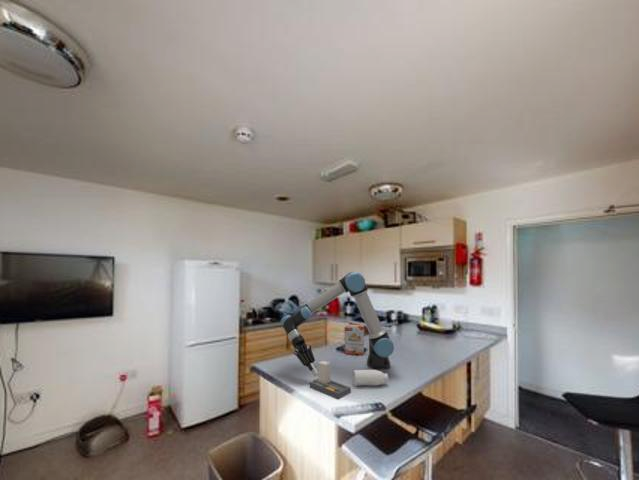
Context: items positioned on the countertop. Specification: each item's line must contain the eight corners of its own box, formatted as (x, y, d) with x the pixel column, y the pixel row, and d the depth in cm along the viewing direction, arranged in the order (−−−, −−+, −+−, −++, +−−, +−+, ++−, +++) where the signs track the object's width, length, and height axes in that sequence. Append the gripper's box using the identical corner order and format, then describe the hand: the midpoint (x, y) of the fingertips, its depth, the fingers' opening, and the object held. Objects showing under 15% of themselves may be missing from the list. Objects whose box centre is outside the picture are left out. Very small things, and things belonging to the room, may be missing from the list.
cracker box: (345, 354, 204) (344, 325, 207) (345, 352, 210) (345, 324, 213) (364, 355, 202) (363, 326, 204) (364, 352, 208) (363, 324, 210)
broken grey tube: (389, 388, 146) (389, 372, 147) (354, 388, 146) (354, 372, 147) (386, 382, 154) (385, 367, 155) (352, 382, 154) (352, 367, 155)
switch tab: (318, 381, 148) (318, 362, 149) (323, 379, 151) (323, 360, 152) (325, 384, 145) (325, 364, 146) (330, 382, 148) (330, 362, 149)
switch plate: (309, 387, 148) (309, 380, 148) (322, 381, 155) (322, 375, 156) (338, 399, 134) (338, 391, 135) (350, 392, 142) (350, 385, 142)
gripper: (301, 340, 171) (320, 375, 158) (285, 344, 162) (304, 382, 149) (307, 333, 168) (327, 368, 155) (291, 336, 159) (311, 374, 146)
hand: (316, 374), depth 152 cm, fingers closed
